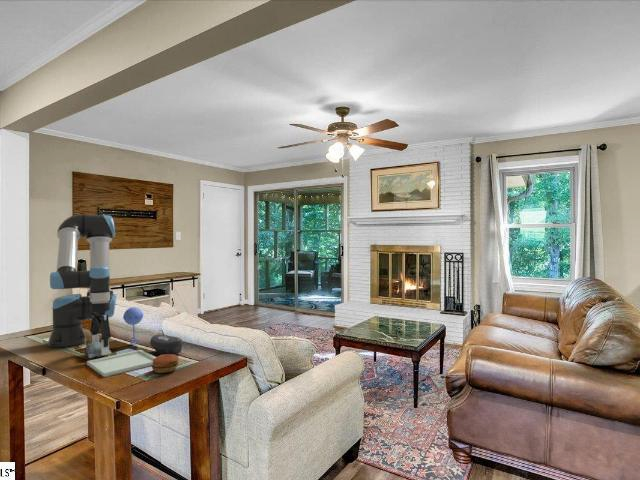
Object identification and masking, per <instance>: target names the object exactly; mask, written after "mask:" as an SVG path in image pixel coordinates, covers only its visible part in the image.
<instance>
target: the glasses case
mask: <svg viewBox="0 0 640 480" xmlns="http://www.w3.org/2000/svg"><path fill="white" fill-rule="evenodd" d="M149 343H150V344H149V345H150V346H151V348H153V350H155V352H156V353H158V354H160V355H163V354H173V355H176V356H177V355H179V354H180V353H181V352H182V349H183V343H184V341H183V340H182V338H180V337H178V336H174V335H168V334H159V333H157V334H155V335H152V337H151V338H150V341H149Z"/></svg>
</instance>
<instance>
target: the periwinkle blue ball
mask: <svg viewBox="0 0 640 480" xmlns="http://www.w3.org/2000/svg"><path fill="white" fill-rule="evenodd" d="M143 317H144V313H143V311H142V310H141V309H140V308H139V307H136V306H135V307H134V306H132V307H129V308H127V309H126V310H125V311H124V313H123V317H122V319H123V321H124V322H125V323H126V324H128V325H131V326H132V330H133V331H132V333H133V335H132V336H133V337H132V339H131V341H130V345H132V346H134V345H136V344H138V339H137V338H136V335H135V333H136V332H135V331H136V330H135V325H137V324H139V323H141V321H142V320H143ZM134 340H135V342H134Z"/></svg>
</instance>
